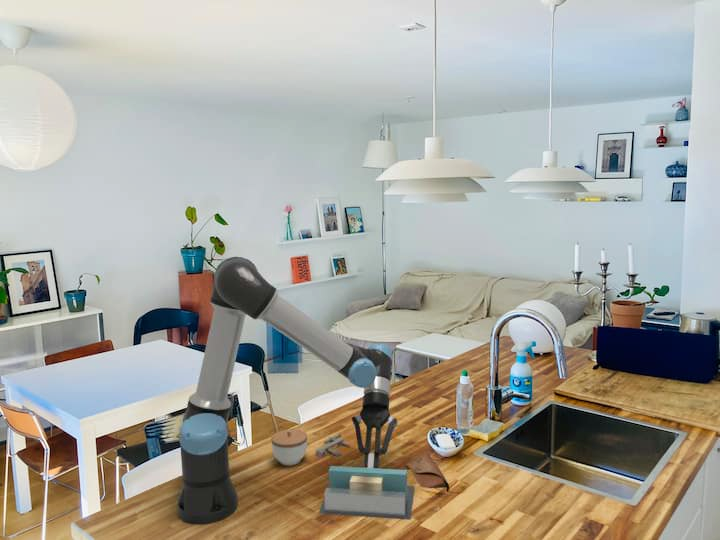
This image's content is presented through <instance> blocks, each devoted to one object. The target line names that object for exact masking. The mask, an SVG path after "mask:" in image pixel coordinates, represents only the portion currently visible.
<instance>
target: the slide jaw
mask: <svg viewBox="0 0 720 540" xmlns="http://www.w3.org/2000/svg"><path fill="white" fill-rule="evenodd" d="M351 476H364V477H382V478H383V491H390V492H405V502H406V504H407V486H408V469H390V468H379V467H378V468H368V467H355V466H341V465H340V466H339V465H338V466H337V465H330V466H329V469H328V485H329V486H328V488H340V489H350V479H351Z"/></svg>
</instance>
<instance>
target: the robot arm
mask: <svg viewBox="0 0 720 540" xmlns="http://www.w3.org/2000/svg"><path fill="white" fill-rule="evenodd" d="M209 303H210V304H211V307H212V308H213V314H212V317H211V322H210V327H209V331H208V336H207V341H206V345H205V349H204V354H203V360H202V364H201V367H200V372H199V377H198V382H197V387H196V391H195V392H194V393H192V394H191V395H190V396H189V397H188V401H187V405H186V410H185V413H184V414H183V418H182V423H181V425H180V427H179V434H178V440H179V443H180V445H179V446H180V457H181V458H180V459H181V473H182V485H181V489H180V494H179V497H178V501H177V515H178V517H179V519H180V520H181V521H183V522H185V523H189V524H194V525H203V524H205V525H206V524H212V523H215V522H219V521H221V520H224V519H226V518H227V517H230V516H231V515H232V514H233V513H234V512H235V511H236V510H237V508H238V505H239V498H238V497H239V496H238V492H237V490H236V488H235V485H234V483H233V480H232V479H231V475H230V461H229V459H230V458H229V446H228V445H229V444H228V443H229V442H228V434H229V429H228V427H227V426H228V425H227V424H228V421H229V418H230V417H229V416H230V411H231V406H232V402H231V400H230V399H229V397H228V396H229V392H230V391H229V390H230V386H231V381H232V377H233V374H234V368H235V364H236V359H237V355H238V351H239V347H240V346H239V345H240V342H241V337H242V332H243V327H244V323H245V318H246V315H247V316H248V317H250V318H251V319H252V320H255V321H257V320H261V321H263V322H264V323H266V324H268V325H269V326H270V327H272V328H273V329H275V330H276V331H278V332H279V333H280V334H282V335H283V336H285V337H286V338H288V339H290V340H291V341H293V342H294V343H295V344H297V345H298V346H300V347H301V348H303V349H304V350H306V351H307V352H308V353H310V354H311V355H314V357H316V358H318V359H319V360H320V361H322V362H324V363H325V364H326V365H328V366H329V367H331V368H332V369H333V370H335V371H337V372H338V373H340V375H342V376H344V377H345V378H347V379H348V381H349V382H350V383H351V384H353V386H355V387H357V388H359V389H361V388H362V389H363V397H362V408H361V410H360V412H359V415H357V416H352V417H351V420H352V424H353V425H354V428H355V434H356V442H357V448H358V453H360V454H363V455H364V458H363V466H364V468H378V469H379V463H380V456H383V455H386V454H387V451H388V449H389V445H390V442H391V438H392V436H393V432H394V429H395V428H396V427H397V426H398V420H397V418H396V417H392V415H391V414H390V396H391V395H390V394H391V378H392V366H393V351H392V349H391V348H390V346H388V345H387V344H383V343H380V344H379V343H374V344H373V343H372V344H371V345H369V346H368V348H365V347H362V346H359V345H355V344H352V343H349V342H346V340H345V341H344V340H342V339H341V338H339V337H338V336H337V335H335V334H334V333H333V332H331V331H330V330H329V329H327V328H325V327H324V326H323V325H322V324H321V323H318V322H317V321H316V320H314V319H313V318H311V317H310V316H308V315H307V314H306V313H304V312H303V311H302V310H300V308H298V307H296V306H294V305H293V304H291V303H290V302H289V301H288V300H287V299H285V298H283V297H282V296H280V295H279V293H278V289H277V288H276V287H274V286H273V285H272V284H270V283H269V282H268V281H267V280H266V279H265V278H264V277H263V276H262V274H261V273H260V272H259V271H258V269H257V267H256V265H255V264H254V263H253V262H252V261H251V260H250V259H248V258H245V257H243V256H231V257H228V258H227V257H226V258H225V259H224V260H223V261H220V263H219V264H218V265H217V267H216V268H215V271H214V282H213V286H212V291H211V294H210V299H209ZM362 421H363V424H364V425H365V427H366V430H365V432H366V433H365V444H363V437H362V430H361V424H362ZM387 423H388V426H387V429H386V432H385V435H384V439H383V442H382V445H381V439H382V428H383V427H384V426H385V425H386V424H387ZM373 429H375V436H374V450H373V452H374V453H371V448H372V447H371V446H372V435H373Z"/></svg>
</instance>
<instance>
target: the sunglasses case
mask: <svg viewBox="0 0 720 540" xmlns="http://www.w3.org/2000/svg"><path fill="white" fill-rule="evenodd" d="M405 466H406V467H405ZM404 467H405V468H406V470H411V472H412V475H413V476H414V478H415V479H416V482H417V484H418V485H419V486H420V487H421V488H425V489H441V488H442V489H443V488H444V489H446V492H449V490H450V485H449V483H448V481H447V479H446V477H445V476H444V474H443V472H442V471H441V469H440V468H439V466H438V465H437V463H436V462H435V460H434V459H433V458H432V456H431V455H430V453H429V452H427V451H426V452H425V454H423V455H421V456H419V457H418V458H416V459H414V460H412V461H409V463H407V464H404Z"/></svg>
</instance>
